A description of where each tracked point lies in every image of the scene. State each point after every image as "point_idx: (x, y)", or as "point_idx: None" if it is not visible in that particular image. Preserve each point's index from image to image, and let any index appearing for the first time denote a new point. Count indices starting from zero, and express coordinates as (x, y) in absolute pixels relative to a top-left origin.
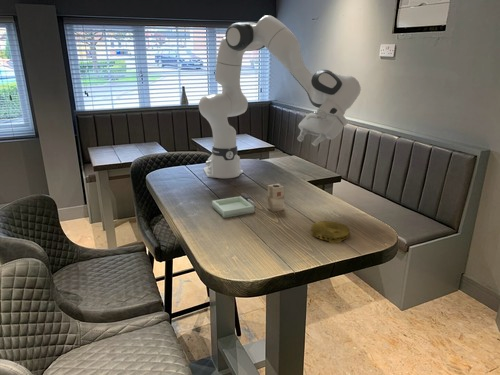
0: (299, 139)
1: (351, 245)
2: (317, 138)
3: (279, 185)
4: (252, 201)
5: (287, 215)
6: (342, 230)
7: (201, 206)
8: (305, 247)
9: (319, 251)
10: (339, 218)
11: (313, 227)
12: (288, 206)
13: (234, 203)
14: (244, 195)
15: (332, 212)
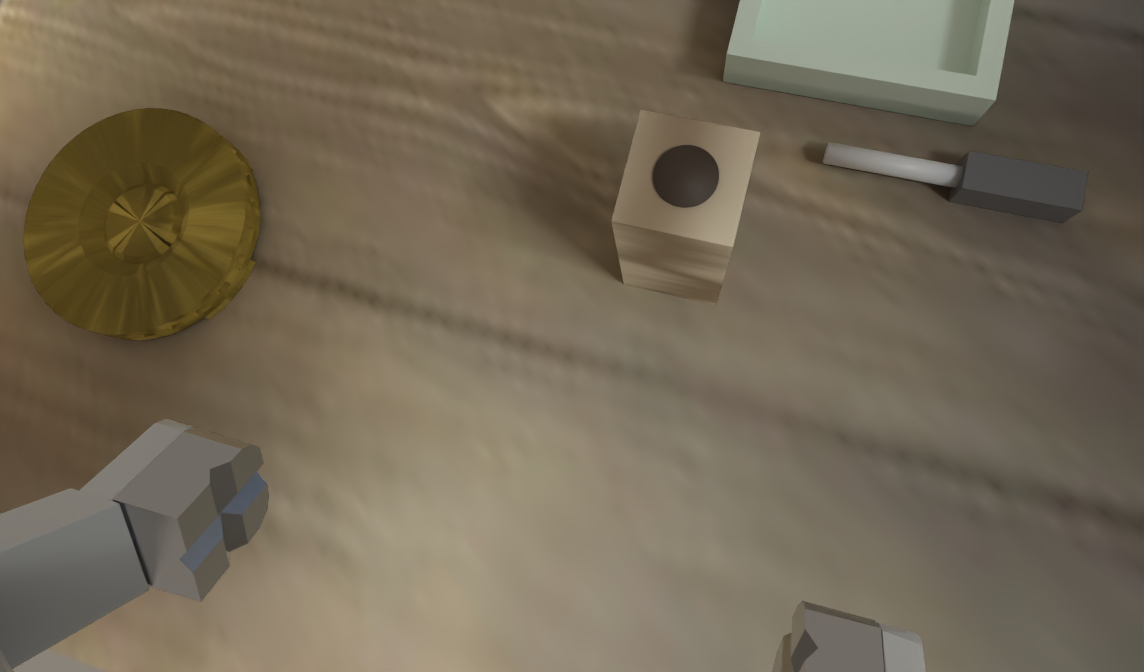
0: (798, 604)
1: (3, 209)
2: (30, 517)
3: (676, 213)
4: (872, 154)
5: (525, 228)
6: (68, 254)
7: None
8: (165, 9)
9: (91, 34)
10: None
11: (218, 151)
12: (648, 360)
13: (935, 31)
14: (1029, 172)
15: (336, 531)
